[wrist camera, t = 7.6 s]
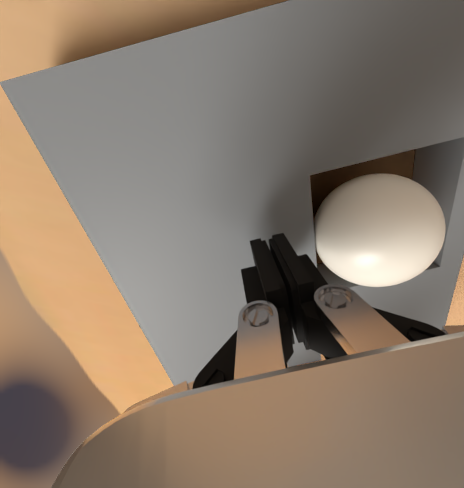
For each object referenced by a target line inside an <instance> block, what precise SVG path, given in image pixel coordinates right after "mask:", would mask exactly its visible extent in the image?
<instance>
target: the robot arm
mask: <svg viewBox="0 0 464 488" xmlns="http://www.w3.org/2000/svg"><path fill="white" fill-rule="evenodd" d="M250 245H251V250H252V254H253V259H254V263H255V266H252V267H248V268H244V269H241V274H242V280H243V285H244V291H245V296H246V302H247V304H246V305H245V306H244V307H243V308H242V309H241V310H240V312H239V316H238V328H237V330H236V332H235V333H234V334H233V335H232V336H231V337H230V338H229V339H228V341H227V342H226V343H225V344H224V345H223V346H222V347H221V348H220V350H219V351H218V352H217V353H216V354H215V355H214V356H213V358H212V359H211V360H210V361H209V362H208V363H207V364H206V365H205V367H204V368H203V369H202V370H201V371H200V372H199V374H198V375H197V377H196V378H195V381H192V382H190V383H187V381H184V382H182V383H180V384H178V385H176V386H173V387H171V388H169V389H167V390H165V391H162V392H160V393H158V394H156V395H153V396H151V397H149V398H147V399H145V400H142V401H140V402H138V403H136V404H134V405H132V406H131V407H129V408H128V409H127V410H126V411H125V412H124V413H122V414H121V415H119V416H117V417H116V418H114V419H113V420H111V421H109V422H108V423H106V424H105V425H103V426H102V427H100V428H99V429H98V430H96V431H95V432H94V433H93V434H91V435H90V436H89V437H88V438H87V439H85V440H84V442H82V443H81V444H80V446H79V447H78V448H77V449H76V450H75V451H74V453H73V454H72V455H71V456H70V458H69V459H68V460H67V462H66V463H65V465H64V466H63V468H62V470H61V471H60V473H59V474H58V476H57V478H56V480H55V481H54V483H53V485H52V487H51V488H464V325H458V326H442V329H438V328H436V327H434V326H432V325H429V324H427V323H424V322H420V321H417V320H414V319H410V318H407V317H403V316H400V315H397V314H393V313H390V312H387V311H383V310H380V309H377V308H373V307H371V306H370V305H369V304H368V303H367V302H365V301H364V300H363V299H362V298H361V297H360V296H359V295H358V294H357V293H355V292H354V291H353V290H352V289H350V288H349V287H346V286H344V285H339V284H328V283H327V282H326V280H325V279H324V278H323V276H322V275H321V273H320V272H319V270H318V269H317V268H316V266H315V265H314V263H313V262H312V260H311V259H310V258H309V256H308V255H307V254H304V255H299V256H298V255H297V254H296V252H295V251H294V249H293V247H292V246H291V244H290V243H289V241H288V239H287V238H286V236H285V235H284V233H280V234H276V235H272V238H271V239H269V246H270V249H269V247H268V245H267V243H266V240H263V241H261V238H259V239H255V240H251V241H250ZM293 330H294V333H295V335H296V338H297V341H298V343H302V342H303V343H304V346H305V348H306V350H310V349H311V350H313V351H315V352H318V353H319V357H320V359H321V361H318V362H313V363H309V364H304V365H299V366H295V367H290V368H288V365H287V362H288V361H289V359H290V358H291V356H292V354H293V353H294V350H293V344H295V341H294V334H293Z"/></svg>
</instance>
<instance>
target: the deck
mask: <svg viewBox="0 0 464 488" xmlns="http://www.w3.org/2000/svg"><path fill="white" fill-rule="evenodd" d="M0 84H1V86H2V88H3V90H4V91H5V93H6V95H7V97H8V98H9V100H10V102H11V104H12V105H13V107H14V109H15V111H16V112H17V114H18V116H19V117H20V119H21V121H22V123H23V124H24V126H25V128H26V130H27V131H28V133H29V135H30V137H31V138H32V140H33V142H34V144H35V145H36V147H37V149H38V150H39V152H40V154H41V156H42V157H43V159H44V161H45V163H46V164H47V166H48V168H49V170H50V171H51V173H52V175H53V177H54V178H55V180H56V182H57V183H58V185H59V187H60V189H61V190H62V192H63V194H64V196H65V197H66V199H67V201H68V203H69V204H70V206H71V208H72V209H73V211H74V213H75V215H76V216H77V218H78V220H79V222H80V223H81V225H82V227H83V229H84V230H85V232H86V234H87V236H88V237H89V239H90V241H91V242H92V244H93V246H94V248H95V249H96V251H97V253H98V255H99V256H100V258H101V260H102V262H103V263H104V265H105V267H106V269H107V270H108V272H109V274H110V275H111V277H112V279H113V281H114V282H115V284H116V286H117V288H118V289H119V291H120V293H121V295H122V296H123V298H124V300H125V301H126V303H127V305H128V307H129V308H130V310H131V312H132V314H133V315H134V317H135V319H136V321H137V322H138V324H139V326H140V328H141V329H142V331H143V333H144V334H145V336H146V338H147V340H148V341H149V343H150V345H151V347H152V348H153V350H154V352H155V354H156V355H157V357H158V359H159V361H160V362H161V364H162V366H163V367H164V369H165V371H166V373H167V374H168V376H169V378H170V380H171V381H172V383H173V385H174V386H176V385H178V384H180V383H182V382H184V381H187V383H190V382H192V381H195V378H196V377H197V375H198V374H199V372H200V371H201V370H202V369H203V368H204V367H205V365H206V364H207V363H208V362H209V361H210V360H211V359H212V358H213V356H214V355H215V354H216V353H217V352H218V351H219V350H220V348H221V347H222V346H223V345H224V344H225V343H226V342H227V341H228V339H229V338H230V337H231V336H232V335H233V334H234V333H235V332H236V330H237V328H238V316H239V312H240V310H241V309H242V308H243V307H244V306H245V305H246V304H247V302H246V296H245V291H244V285H243V280H242V274H241V269H244V268H248V267H252V266H255V263H254V259H253V254H252V250H251V245H250V241H251V240H255V239H259V238H261V241H263V240H266V243H267V245H268V247H269V249H270V246H269V239H271V238H272V235H276V234H280V233H284V235H285V236H286V238H287V239H288V241H289V243H290V244H291V246H292V247H293V249H294V251H295V252H296V254H297V255H298V256H299V255H304V254H307V255H308V256H309V258H310V259H311V260H312V262H313V263H314V265H315V266H316V268H317V269H318V270H319V272H320V273H321V275H322V276H323V278H324V279H325V280H326V282H327V283H328V284H339V285H344V286H346V287H349V288H350V289H352V290H353V291H354V292H355V293H357V294H358V295H359V296H360V297H361V298H362V299H363V300H364V301H365V302H367V303H368V304H369V305H370V306H371V307H373V308H377V309H380V310H383V311H387V312H390V313H393V314H397V315H400V316H403V317H407V318H410V319H414V320H417V321H420V322H424V323H427V324H429V325H432V326H434V327H436V328H438V329H442V326H445V324H446V320H447V316H448V313H449V309H450V305H451V301H452V297H453V293H454V290H455V286H456V282H457V278H458V274H459V270H460V267H461V263H462V259H463V255H464V0H289V1H285V2H281V3H278V4H274V5H271V6H267V7H264V8H260V9H257V10H253V11H250V12H246V13H243V14H239V15H235V16H232V17H228V18H225V19H221V20H218V21H214V22H211V23H207V24H204V25H200V26H197V27H193V28H190V29H186V30H182V31H179V32H175V33H172V34H168V35H165V36H161V37H158V38H154V39H151V40H147V41H144V42H140V43H136V44H133V45H129V46H126V47H122V48H119V49H115V50H112V51H108V52H105V53H101V54H98V55H94V56H91V57H87V58H83V59H80V60H76V61H73V62H69V63H66V64H62V65H59V66H55V67H52V68H48V69H45V70H41V71H37V72H34V73H30V74H27V75H23V76H20V77H16V78H13V79H9V80H6V81H2V82H0ZM414 149H416V152H415V160H414V168H413V177H412V180H413V181H415V182H417V183H419V184H420V185H422V186H423V187H424V188H426V189H427V190H428V191H429V192H430V193H431V194H432V195H433V196H434V197H435V199H436V200H437V202H438V203H439V205H440V207H441V209H442V212H443V214H444V218H445V225H446V228H445V238H444V242H443V246H442V248H441V250H440V252H439V254H438V256H437V257H436V259H435V260H434V261H433V262H432V264H431V265H430V266H429V267H428V268H427V269H426V270H424V271H423V272H422V273H421V274H419V275H417V276H416V277H414V278H412V279H410V280H408V281H405V282H403V283H400V284H397V285H392V286H385V287H369V286H362V285H358V284H355V283H352V282H349V281H347V280H345V279H343V278H341V277H339V276H338V275H336V274H335V273H333V272H332V271H331V270H330V269H329V268H328V267H327V266H326V265H325V264H324V263H322V264H318V265H317V262H316V249H315V236H314V223H313V210H312V197H311V184H310V175H313V174H317V173H321V172H325V171H329V170H333V169H337V168H341V167H345V166H349V165H353V164H358V163H362V162H366V161H370V160H374V159H378V158H382V157H386V156H390V155H394V154H398V153H402V152H406V151H410V150H414ZM293 334H294V341H295V344H293V350H294V353H293V354H292V356H291V358H290V359H289V361H288V362H287V365H288V367H292V366H296V365H301V364H306V363H310V362H315V361H320V360H321V359H320V357H319V353H318V352H315V351H313V350H311V349H310V350H306V348H305V346H304V343H303V342H302V343H298V341H297V338H296V335H295V333H294V330H293Z"/></svg>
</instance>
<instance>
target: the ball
mask: <svg viewBox="0 0 464 488" xmlns="http://www.w3.org/2000/svg"><path fill="white" fill-rule="evenodd" d="M445 228H446V225H445V218H444V214H443V212H442V209H441V207H440V205H439V203H438V202H437V200H436V199H435V197H434V196H433V195H432V194H431V193H430V192H429V191H428V190H427V189H426V188H424V187H423V186H422V185H420V184H419V183H417V182H415V181H413V180H411V179H409V178H406V177H403V176H399V175H394V174H386V173H378V174H368V175H363V176H359V177H356V178H353V179H351V180H349V181H347V182H345V183H343V184H341V185H340V186H338V187H337V188H335V189H334V190H333V191H332V192H331V193H330V194H329V195H328V196H327V197H326V198H325V199H324V201H323V202H322V203H321V205H320V207H319V209H318V211H317V213H316V216H315V219H314V236H315V248H316V251H317V253H318V255H319V257H320V258H321V260H322V261H323V263H324V264H325V265H326V266H327V267H328V268H329V269H330V270H331V271H332V272H333V273H335V274H336V275H338V276H339V277H341V278H343V279H345V280H347V281H349V282H352V283H355V284H358V285H362V286H369V287H385V286H392V285H397V284H400V283H403V282H405V281H408V280H410V279H412V278H414V277H416V276H417V275H419V274H421V273H422V272H423V271H424V270H426V269H427V268H428V267H429V266H430V265H431V264H432V262H433V261H434V260H435V259H436V257H437V256H438V254H439V252H440V250H441V248H442V246H443V242H444V238H445Z"/></svg>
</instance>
